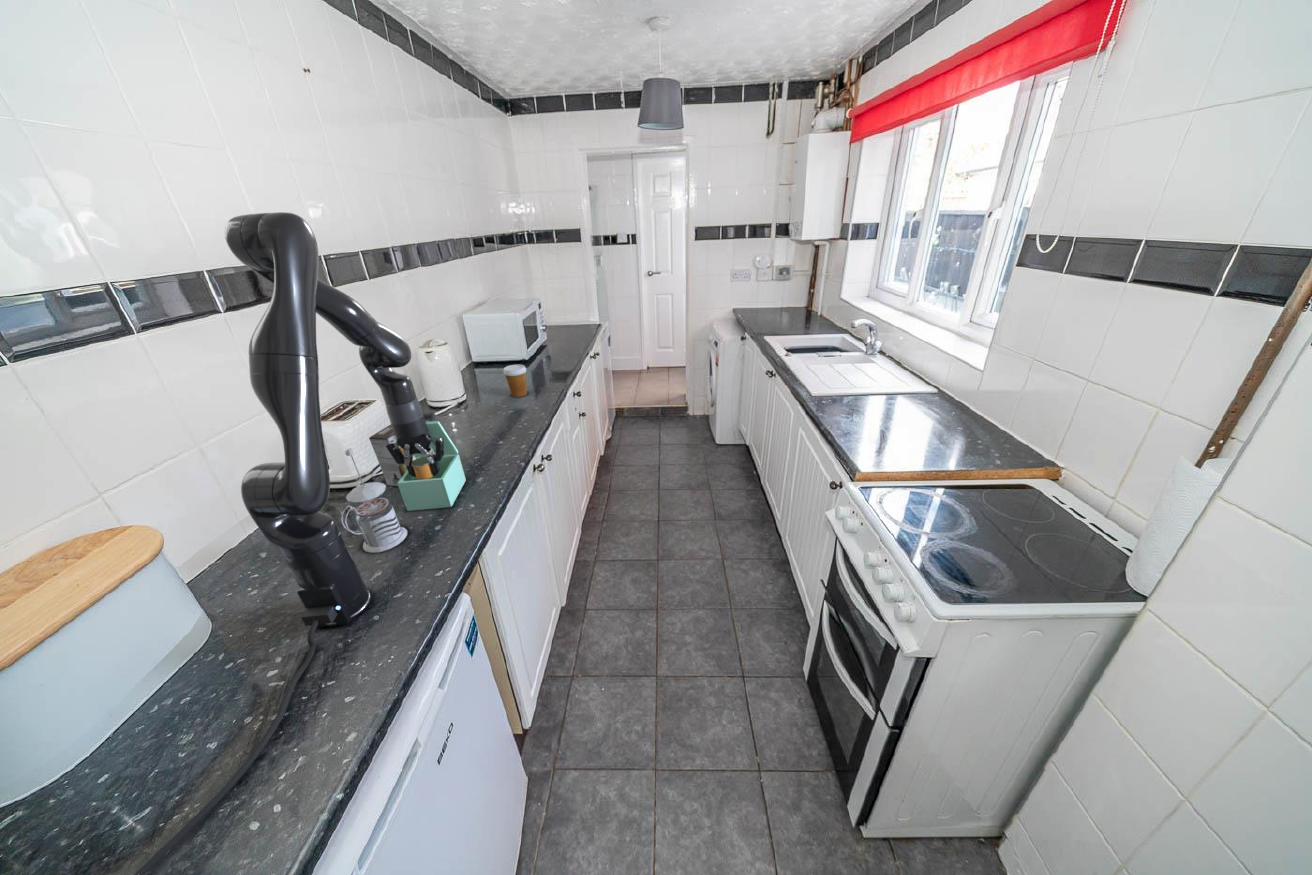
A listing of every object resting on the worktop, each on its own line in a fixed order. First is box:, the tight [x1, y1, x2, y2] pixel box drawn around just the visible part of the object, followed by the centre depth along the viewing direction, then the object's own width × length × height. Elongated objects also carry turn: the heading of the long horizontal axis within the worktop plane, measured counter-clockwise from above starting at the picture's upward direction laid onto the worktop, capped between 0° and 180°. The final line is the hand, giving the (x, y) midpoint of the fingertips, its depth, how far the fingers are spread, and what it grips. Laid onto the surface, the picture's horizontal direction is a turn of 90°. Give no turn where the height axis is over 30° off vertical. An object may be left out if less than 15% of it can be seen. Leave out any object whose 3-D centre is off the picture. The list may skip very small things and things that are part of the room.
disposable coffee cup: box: [502, 364, 528, 398], centre depth 193 cm, size 10×10×12 cm
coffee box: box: [368, 424, 420, 487], centre depth 133 cm, size 9×6×16 cm
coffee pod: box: [411, 457, 434, 480], centre depth 120 cm, size 5×5×4 cm
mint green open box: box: [397, 453, 467, 512], centre depth 125 cm, size 14×12×9 cm
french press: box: [340, 448, 408, 554], centre depth 104 cm, size 10×12×25 cm
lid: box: [414, 412, 459, 457], centre depth 125 cm, size 14×12×6 cm
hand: (425, 474), depth 121 cm, fingers closed on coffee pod, 5 cm apart
